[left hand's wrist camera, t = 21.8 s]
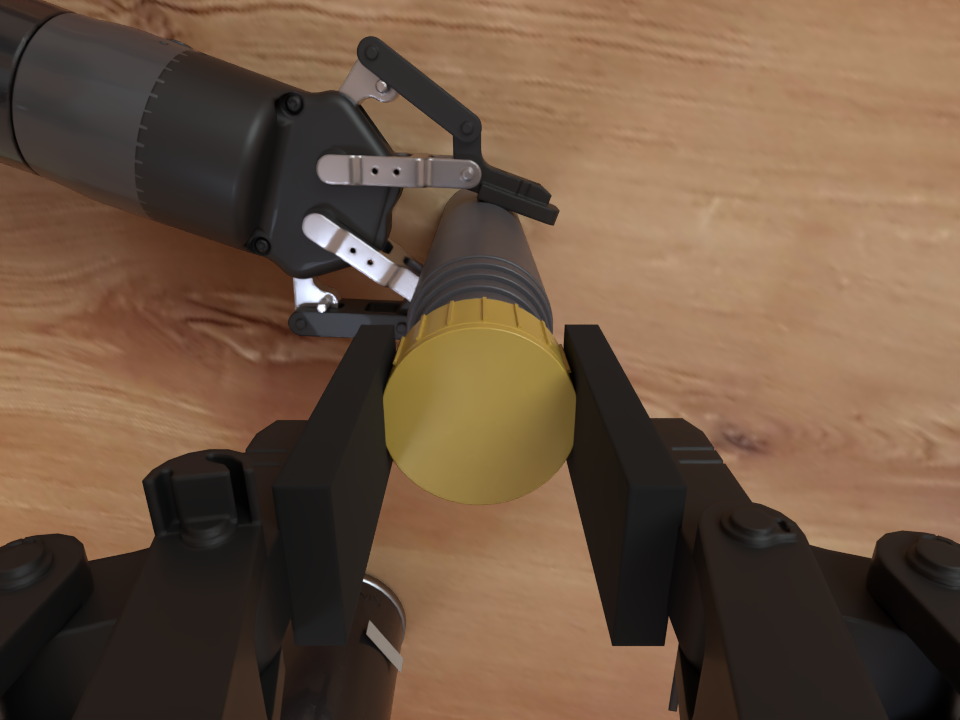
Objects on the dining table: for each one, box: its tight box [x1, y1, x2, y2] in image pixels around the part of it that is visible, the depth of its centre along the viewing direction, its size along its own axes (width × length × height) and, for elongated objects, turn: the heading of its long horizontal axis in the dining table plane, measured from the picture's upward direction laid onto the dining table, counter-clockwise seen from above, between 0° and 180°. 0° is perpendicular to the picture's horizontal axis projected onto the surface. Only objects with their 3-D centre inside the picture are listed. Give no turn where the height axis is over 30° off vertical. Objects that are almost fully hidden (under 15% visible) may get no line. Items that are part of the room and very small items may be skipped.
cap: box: [383, 297, 576, 505], centre depth 13 cm, size 4×4×2 cm
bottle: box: [407, 189, 553, 335], centre depth 24 cm, size 4×4×23 cm
